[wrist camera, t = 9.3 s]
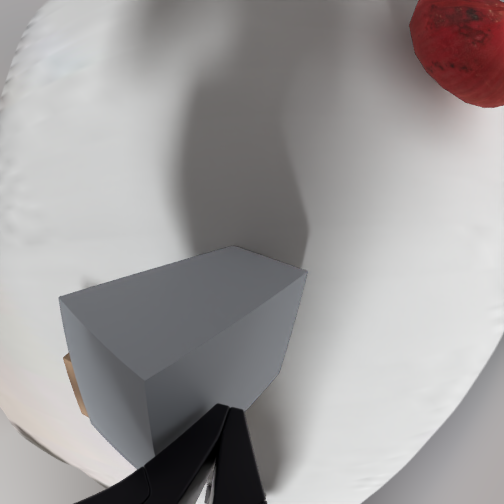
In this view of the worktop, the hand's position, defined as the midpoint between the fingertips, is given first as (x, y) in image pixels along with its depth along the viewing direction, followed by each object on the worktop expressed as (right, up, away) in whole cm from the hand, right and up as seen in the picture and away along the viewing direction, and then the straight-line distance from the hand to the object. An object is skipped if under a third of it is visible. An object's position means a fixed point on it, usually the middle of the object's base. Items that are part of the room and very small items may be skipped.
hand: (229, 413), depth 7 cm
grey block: (+1, +2, +6) cm, 7 cm away
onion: (+11, +15, +2) cm, 18 cm away
